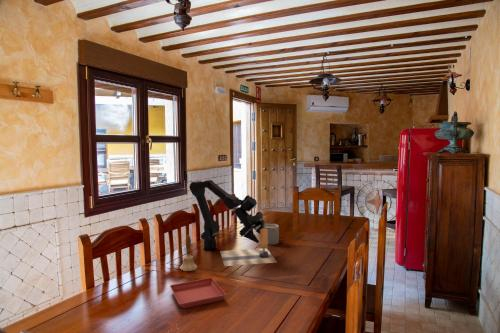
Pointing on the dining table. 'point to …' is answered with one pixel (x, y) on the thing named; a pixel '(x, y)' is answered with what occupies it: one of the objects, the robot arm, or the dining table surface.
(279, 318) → the dining table surface
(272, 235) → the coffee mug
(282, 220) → the dining table surface
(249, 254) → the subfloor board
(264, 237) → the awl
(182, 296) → the plant saucer
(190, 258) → the hand bell
